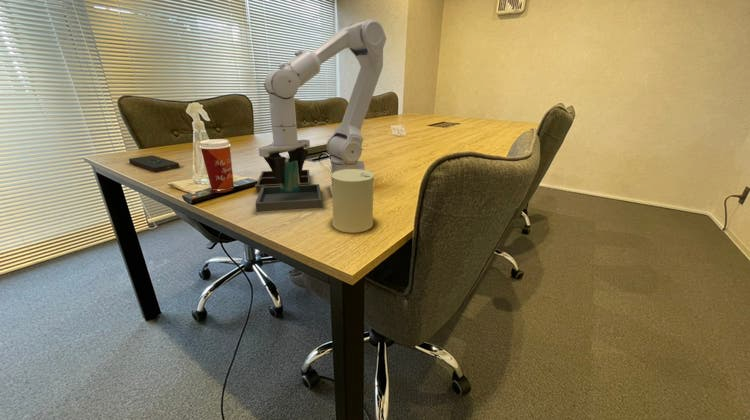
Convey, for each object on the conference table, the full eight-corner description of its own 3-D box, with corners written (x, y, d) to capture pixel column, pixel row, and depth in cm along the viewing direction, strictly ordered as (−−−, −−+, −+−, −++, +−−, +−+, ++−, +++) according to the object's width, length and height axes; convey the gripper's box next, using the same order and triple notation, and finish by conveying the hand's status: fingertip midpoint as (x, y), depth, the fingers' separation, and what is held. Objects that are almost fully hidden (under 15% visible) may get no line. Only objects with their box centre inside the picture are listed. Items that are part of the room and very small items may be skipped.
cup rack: (309, 176, 101) (308, 169, 100) (310, 191, 88) (310, 183, 87) (262, 178, 98) (261, 171, 97) (257, 193, 85) (255, 185, 84)
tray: (319, 192, 87) (319, 184, 86) (322, 209, 76) (322, 199, 75) (262, 195, 84) (261, 186, 83) (256, 213, 73) (255, 203, 72)
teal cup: (299, 186, 82) (297, 157, 78) (300, 193, 77) (297, 162, 74) (279, 187, 80) (276, 157, 77) (278, 194, 76) (275, 162, 73)
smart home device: (153, 167, 100) (127, 158, 110) (155, 172, 101) (128, 163, 110) (180, 162, 107) (152, 154, 116) (181, 167, 107) (153, 159, 117)
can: (369, 234, 64) (370, 180, 59) (327, 230, 65) (324, 177, 60) (376, 217, 72) (377, 168, 68) (338, 213, 74) (337, 165, 69)
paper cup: (226, 196, 82) (217, 144, 77) (201, 193, 84) (191, 142, 78) (243, 187, 90) (236, 139, 84) (220, 185, 91) (212, 137, 85)
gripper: (294, 121, 80) (298, 171, 85) (247, 126, 69) (254, 183, 74) (314, 123, 77) (317, 175, 82) (268, 129, 65) (274, 189, 70)
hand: (288, 179), depth 78 cm, fingers closed on teal cup, 5 cm apart
